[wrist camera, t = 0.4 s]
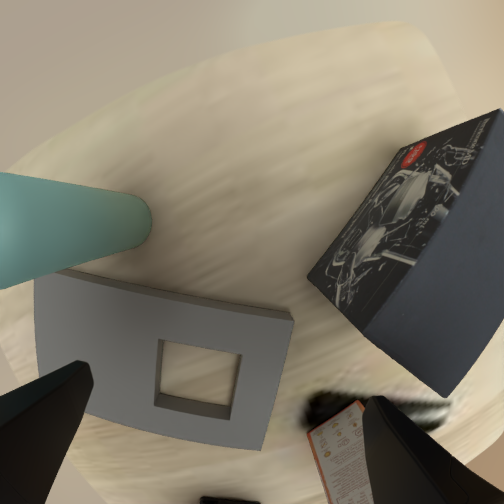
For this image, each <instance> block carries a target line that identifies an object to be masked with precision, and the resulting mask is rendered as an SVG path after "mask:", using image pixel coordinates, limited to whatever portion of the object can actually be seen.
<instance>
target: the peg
mask: <svg viewBox="0 0 504 504" xmlns="http://www.w3.org/2000/svg"><path fill="white" fill-rule="evenodd" d="M151 226H152V217H151V213H150V210H149V208H148V206H147V205H146V203H145V202H144V201H143V200H142V199H140V198H139V197H137V196H134V195H129V194H124V193H119V192H114V191H108V190H103V189H98V188H92V187H87V186H81V185H76V184H70V183H64V182H58V181H53V180H47V179H41V178H35V177H29V176H22V175H16V174H10V173H3V172H0V289H6V288H8V287H11V286H14V285H17V284H20V283H23V282H26V281H29V280H32V279H35V278H38V277H41V276H44V275H47V274H51V273H54V272H57V271H60V270H63V269H66V268H69V267H72V266H76V265H79V264H82V263H85V262H88V261H92V260H95V259H98V258H102V257H105V256H108V255H111V254H115V253H118V252H121V251H125V250H128V249H132V248H135V247H137V246H139V245H140V244H142V243H143V242H144V241H145V240H146V238H147V237H148V235H149V233H150V230H151Z"/></svg>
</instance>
